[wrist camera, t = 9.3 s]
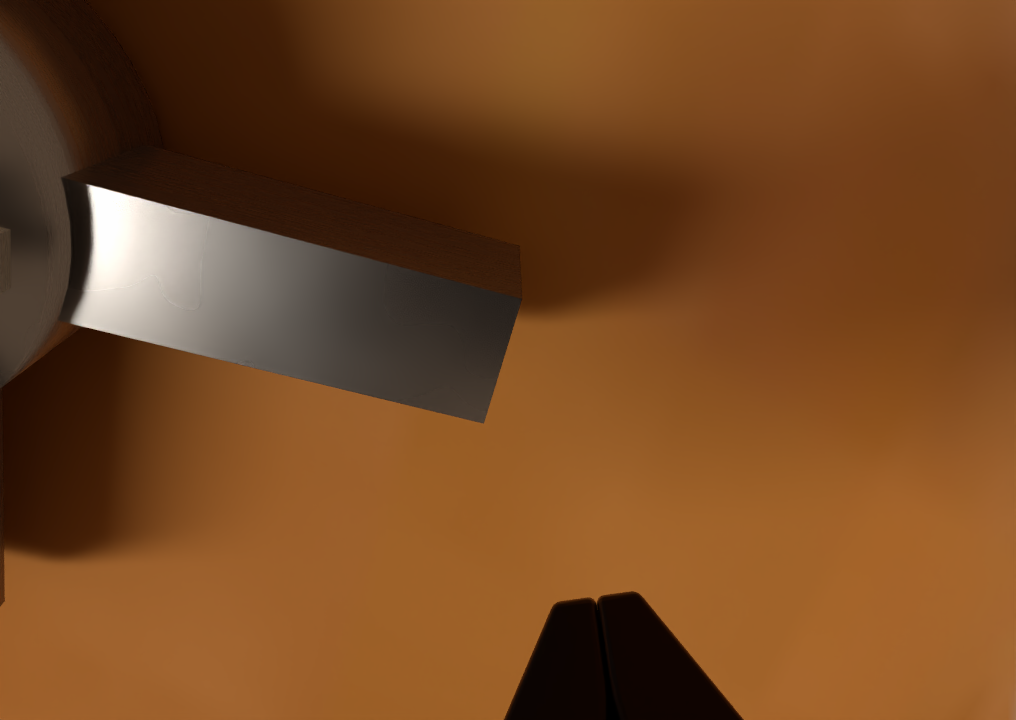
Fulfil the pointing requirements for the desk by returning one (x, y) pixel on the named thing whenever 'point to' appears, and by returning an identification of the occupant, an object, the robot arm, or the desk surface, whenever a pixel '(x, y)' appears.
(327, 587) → the desk surface
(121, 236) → the capstan
